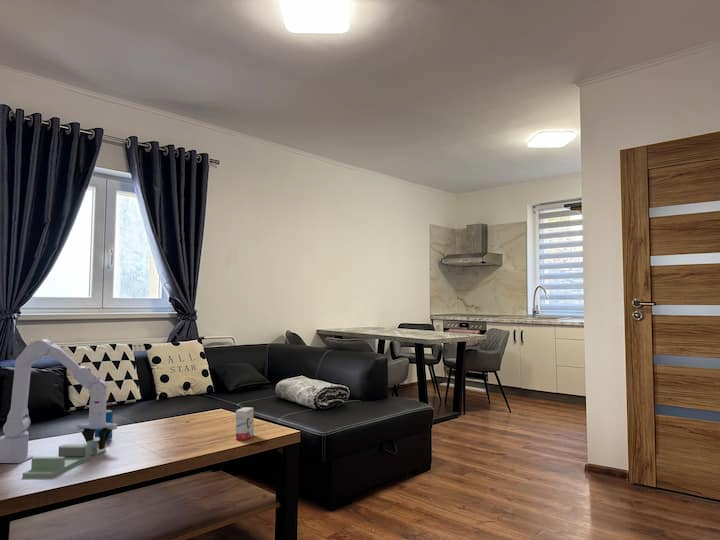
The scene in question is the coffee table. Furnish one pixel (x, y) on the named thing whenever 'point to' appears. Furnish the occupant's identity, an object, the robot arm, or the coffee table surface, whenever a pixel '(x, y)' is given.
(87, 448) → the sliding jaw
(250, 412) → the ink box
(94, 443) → the steel block
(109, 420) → the beverage can
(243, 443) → the coffee table surface
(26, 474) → the vise
